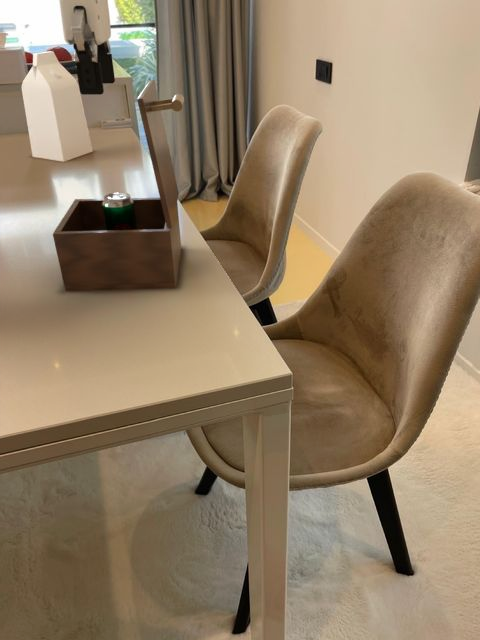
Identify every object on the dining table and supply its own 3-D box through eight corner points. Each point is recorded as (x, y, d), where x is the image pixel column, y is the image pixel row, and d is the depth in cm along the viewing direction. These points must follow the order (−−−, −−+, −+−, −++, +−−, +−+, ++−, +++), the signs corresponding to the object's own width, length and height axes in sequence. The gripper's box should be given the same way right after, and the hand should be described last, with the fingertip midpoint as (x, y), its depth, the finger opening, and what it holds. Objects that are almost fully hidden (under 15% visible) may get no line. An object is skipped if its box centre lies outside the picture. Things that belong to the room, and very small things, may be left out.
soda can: (121, 255, 101) (111, 190, 94) (146, 259, 99) (138, 193, 93) (106, 267, 97) (94, 199, 90) (132, 271, 95) (122, 203, 89)
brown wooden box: (65, 291, 92) (52, 233, 86) (85, 251, 105) (75, 199, 99) (175, 288, 92) (170, 231, 87) (181, 248, 106) (176, 197, 100)
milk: (62, 147, 167) (43, 49, 153) (92, 151, 163) (76, 51, 149) (32, 156, 158) (9, 53, 144) (63, 162, 154) (43, 56, 140)
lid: (136, 99, 76) (176, 93, 76) (149, 80, 89) (182, 75, 89) (167, 228, 87) (201, 223, 86) (174, 194, 100) (204, 190, 100)
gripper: (64, -53, 80) (84, 79, 89) (30, -60, 65) (58, 99, 75) (118, -52, 80) (132, 79, 89) (95, -59, 66) (115, 99, 75)
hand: (98, 88), depth 82 cm, fingers open, 9 cm apart
